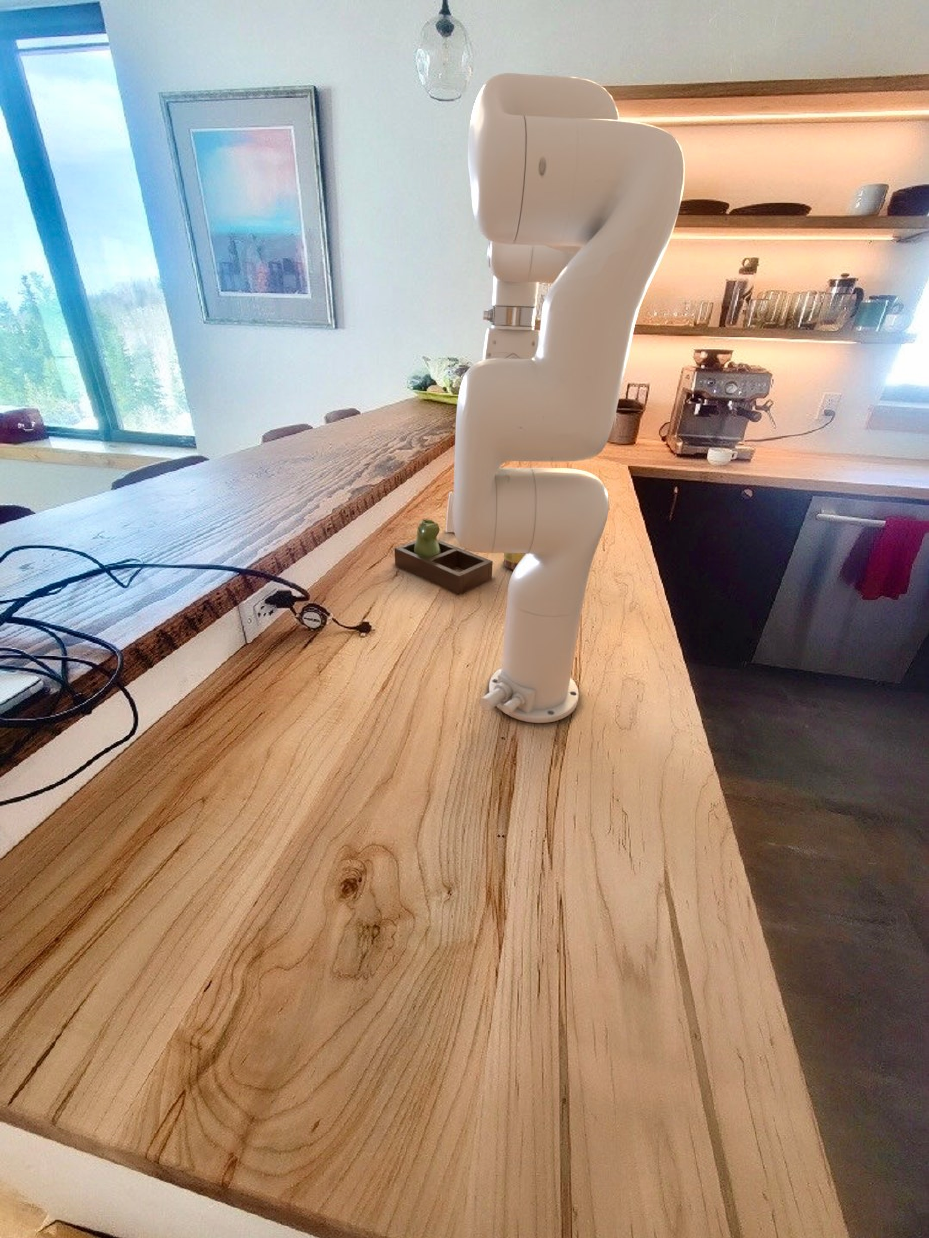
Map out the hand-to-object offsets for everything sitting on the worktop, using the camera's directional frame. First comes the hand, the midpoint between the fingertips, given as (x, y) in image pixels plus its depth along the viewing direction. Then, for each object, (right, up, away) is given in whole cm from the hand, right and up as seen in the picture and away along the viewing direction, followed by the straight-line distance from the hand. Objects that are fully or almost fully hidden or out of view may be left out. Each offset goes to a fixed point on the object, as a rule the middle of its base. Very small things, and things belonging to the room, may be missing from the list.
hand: (505, 424), depth 95 cm
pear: (-16, -26, +12) cm, 32 cm away
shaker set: (-6, -15, +30) cm, 34 cm away
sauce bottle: (+4, -25, +14) cm, 29 cm away
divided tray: (-12, -27, +10) cm, 31 cm away
